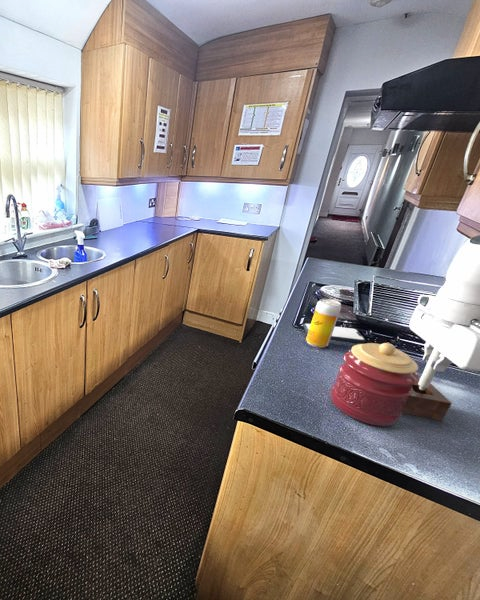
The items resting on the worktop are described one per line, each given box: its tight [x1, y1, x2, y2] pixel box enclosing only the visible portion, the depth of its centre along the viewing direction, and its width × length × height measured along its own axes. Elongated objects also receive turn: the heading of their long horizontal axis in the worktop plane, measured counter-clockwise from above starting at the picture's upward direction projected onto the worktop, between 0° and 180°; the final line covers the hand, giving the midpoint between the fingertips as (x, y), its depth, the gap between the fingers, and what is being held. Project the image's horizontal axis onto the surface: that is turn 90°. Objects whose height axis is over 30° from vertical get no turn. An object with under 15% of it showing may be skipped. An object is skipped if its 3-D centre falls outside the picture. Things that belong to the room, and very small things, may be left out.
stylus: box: [418, 348, 441, 390], centre depth 74 cm, size 2×2×14 cm
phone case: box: [302, 322, 366, 344], centre depth 112 cm, size 9×2×16 cm
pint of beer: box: [305, 298, 342, 349], centre depth 103 cm, size 6×6×15 cm
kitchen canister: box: [329, 342, 420, 427], centre depth 75 cm, size 13×13×18 cm
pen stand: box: [402, 382, 453, 422], centre depth 78 cm, size 8×8×5 cm
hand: (432, 366), depth 75 cm, fingers closed on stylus, 2 cm apart
